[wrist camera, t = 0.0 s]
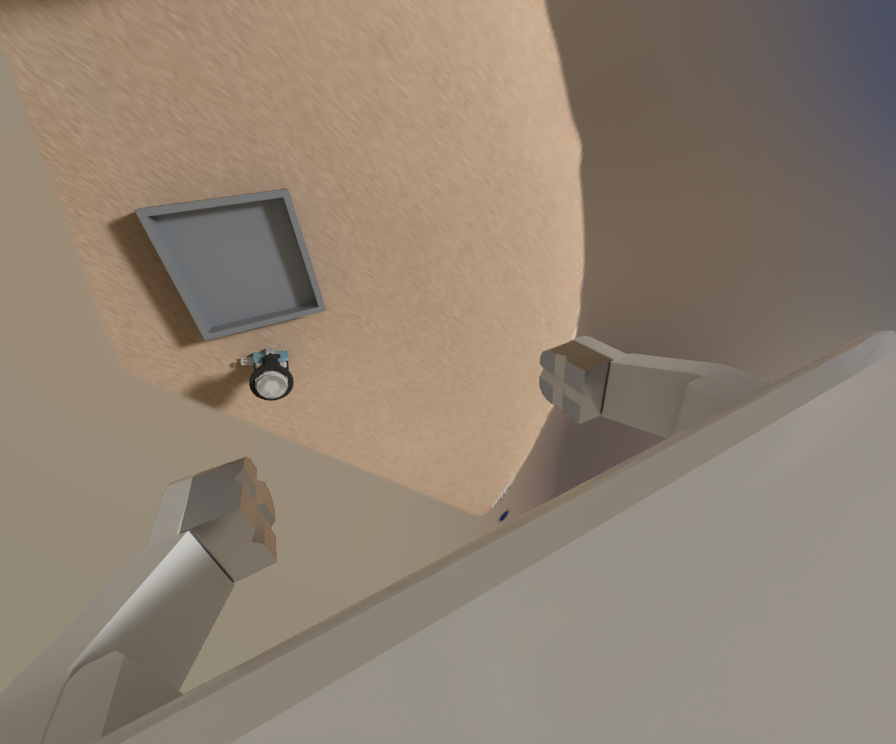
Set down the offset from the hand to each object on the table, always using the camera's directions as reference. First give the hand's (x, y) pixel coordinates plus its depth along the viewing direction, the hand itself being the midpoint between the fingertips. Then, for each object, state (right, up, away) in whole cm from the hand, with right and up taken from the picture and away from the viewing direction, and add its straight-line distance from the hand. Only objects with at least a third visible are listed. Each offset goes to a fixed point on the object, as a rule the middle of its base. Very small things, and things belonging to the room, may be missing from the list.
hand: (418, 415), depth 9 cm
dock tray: (-27, +16, +37) cm, 49 cm away
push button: (-28, +4, +44) cm, 52 cm away
